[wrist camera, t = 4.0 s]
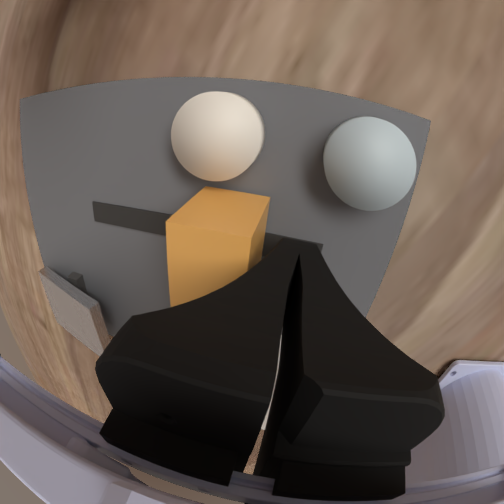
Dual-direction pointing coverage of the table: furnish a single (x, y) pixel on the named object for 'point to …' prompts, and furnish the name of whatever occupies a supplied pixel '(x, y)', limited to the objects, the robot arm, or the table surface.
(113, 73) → the table surface
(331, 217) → the panel
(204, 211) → the orange fader
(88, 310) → the rocker
